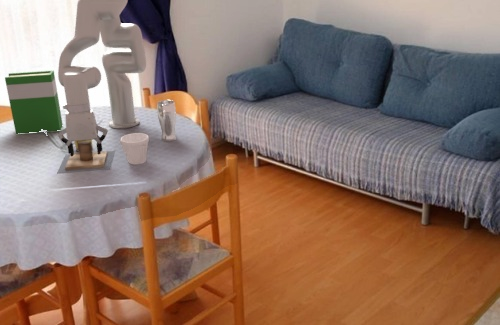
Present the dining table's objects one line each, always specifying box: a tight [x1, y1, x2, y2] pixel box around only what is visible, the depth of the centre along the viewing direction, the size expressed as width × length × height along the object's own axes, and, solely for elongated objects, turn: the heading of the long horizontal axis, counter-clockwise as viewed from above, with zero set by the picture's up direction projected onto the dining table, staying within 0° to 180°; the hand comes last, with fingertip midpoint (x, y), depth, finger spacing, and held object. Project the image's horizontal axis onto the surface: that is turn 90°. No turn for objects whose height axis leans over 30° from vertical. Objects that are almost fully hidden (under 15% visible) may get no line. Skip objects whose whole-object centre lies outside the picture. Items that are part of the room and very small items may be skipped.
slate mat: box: [56, 150, 116, 174], centre depth 206 cm, size 18×18×1 cm
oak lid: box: [65, 141, 108, 170], centre depth 205 cm, size 13×13×7 cm
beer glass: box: [156, 99, 178, 143], centre depth 224 cm, size 7×7×15 cm
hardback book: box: [4, 70, 64, 135], centre depth 238 cm, size 18×7×24 cm, turn 99°
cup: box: [120, 132, 150, 165], centre depth 204 cm, size 10×10×9 cm
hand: (86, 153), depth 205 cm, fingers open, 9 cm apart
